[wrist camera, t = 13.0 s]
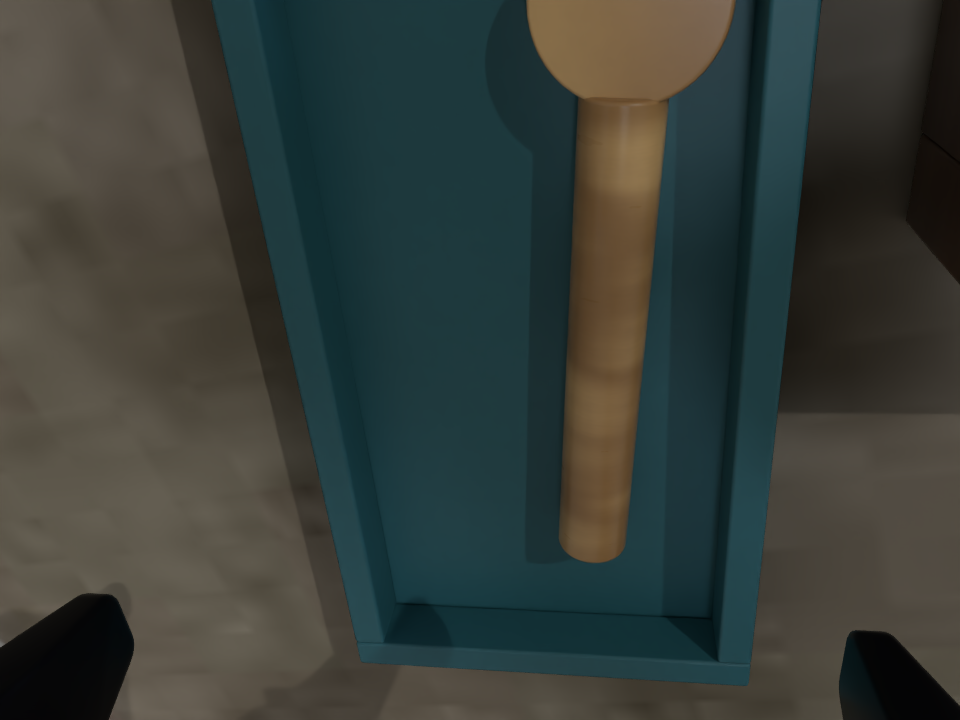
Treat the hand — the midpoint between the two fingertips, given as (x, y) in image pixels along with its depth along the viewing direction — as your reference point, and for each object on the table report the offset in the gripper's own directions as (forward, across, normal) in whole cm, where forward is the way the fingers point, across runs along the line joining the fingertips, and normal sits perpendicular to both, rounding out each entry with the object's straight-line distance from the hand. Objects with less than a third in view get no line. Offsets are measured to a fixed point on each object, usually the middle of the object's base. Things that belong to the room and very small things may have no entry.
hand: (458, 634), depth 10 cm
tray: (+10, 0, 0) cm, 10 cm away
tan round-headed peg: (+8, -1, +6) cm, 10 cm away
